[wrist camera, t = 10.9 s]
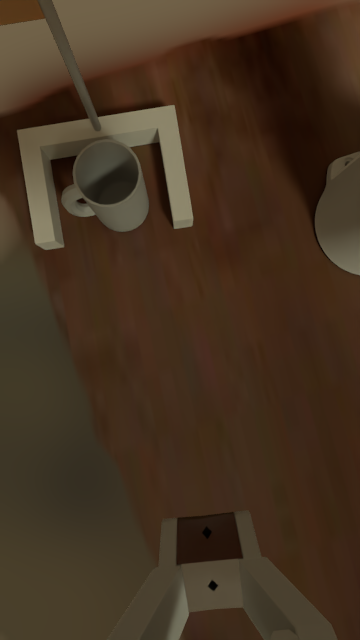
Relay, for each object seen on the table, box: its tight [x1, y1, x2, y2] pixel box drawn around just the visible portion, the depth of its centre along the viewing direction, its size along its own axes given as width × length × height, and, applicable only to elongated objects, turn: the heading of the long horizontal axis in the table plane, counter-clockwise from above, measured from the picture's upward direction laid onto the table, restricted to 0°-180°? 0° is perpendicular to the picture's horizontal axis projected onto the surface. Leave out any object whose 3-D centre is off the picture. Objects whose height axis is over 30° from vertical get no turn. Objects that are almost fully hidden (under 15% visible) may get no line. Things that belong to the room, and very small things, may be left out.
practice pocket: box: [0, 0, 193, 250], centre depth 29 cm, size 14×20×21 cm
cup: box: [61, 139, 149, 232], centre depth 36 cm, size 7×10×9 cm
